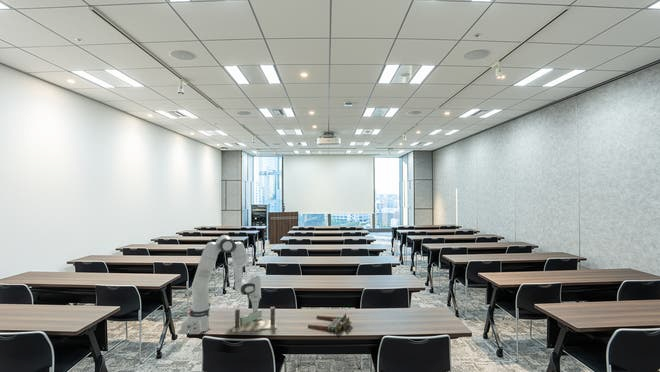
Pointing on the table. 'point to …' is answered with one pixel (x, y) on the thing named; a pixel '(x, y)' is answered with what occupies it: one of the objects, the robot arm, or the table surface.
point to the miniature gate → (333, 323)
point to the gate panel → (250, 317)
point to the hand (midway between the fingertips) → (255, 313)
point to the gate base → (254, 323)
